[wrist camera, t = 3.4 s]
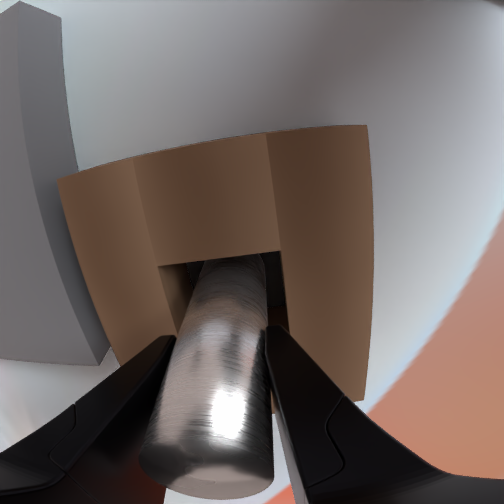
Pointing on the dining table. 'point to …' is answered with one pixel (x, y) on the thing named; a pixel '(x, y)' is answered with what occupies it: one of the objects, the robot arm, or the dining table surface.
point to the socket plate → (39, 202)
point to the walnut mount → (234, 236)
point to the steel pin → (216, 390)
